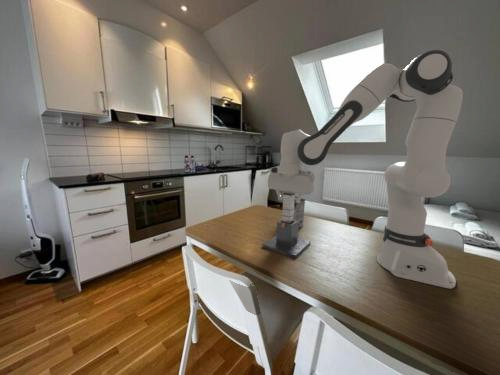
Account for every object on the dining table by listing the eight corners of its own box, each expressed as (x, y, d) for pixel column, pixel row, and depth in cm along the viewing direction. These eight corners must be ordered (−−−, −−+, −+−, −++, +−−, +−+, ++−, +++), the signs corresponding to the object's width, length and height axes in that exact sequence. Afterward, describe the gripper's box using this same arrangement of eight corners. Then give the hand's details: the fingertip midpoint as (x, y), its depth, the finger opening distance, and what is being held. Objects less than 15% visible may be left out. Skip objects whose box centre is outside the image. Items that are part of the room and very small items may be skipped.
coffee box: (285, 222, 122) (286, 196, 119) (293, 221, 125) (295, 195, 122) (294, 228, 114) (295, 200, 111) (303, 226, 116) (305, 199, 114)
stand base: (310, 244, 94) (312, 220, 92) (295, 258, 82) (297, 230, 79) (279, 235, 104) (280, 213, 102) (262, 247, 91) (262, 221, 89)
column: (292, 241, 93) (295, 192, 89) (288, 244, 90) (291, 194, 85) (285, 239, 95) (287, 191, 91) (280, 242, 92) (282, 192, 88)
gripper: (317, 170, 83) (314, 203, 85) (273, 167, 95) (272, 196, 97) (311, 172, 78) (309, 207, 80) (266, 168, 90) (265, 199, 92)
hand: (288, 201), depth 89 cm, fingers open, 7 cm apart
